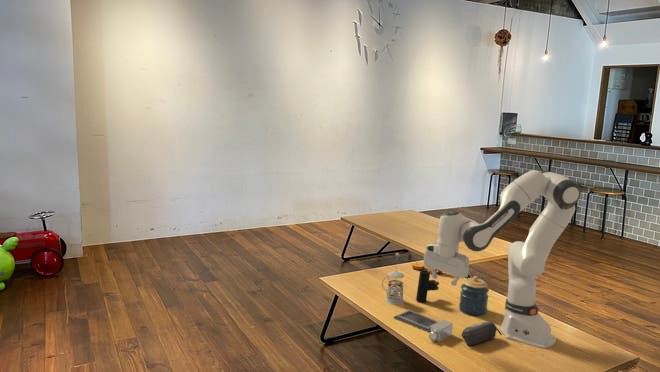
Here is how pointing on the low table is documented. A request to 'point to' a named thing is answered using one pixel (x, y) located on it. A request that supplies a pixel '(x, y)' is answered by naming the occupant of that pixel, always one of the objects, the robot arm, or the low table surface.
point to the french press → (393, 297)
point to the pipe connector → (425, 285)
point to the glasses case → (479, 333)
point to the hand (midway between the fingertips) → (444, 281)
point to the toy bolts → (422, 267)
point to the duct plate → (416, 320)
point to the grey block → (441, 331)
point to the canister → (474, 297)
